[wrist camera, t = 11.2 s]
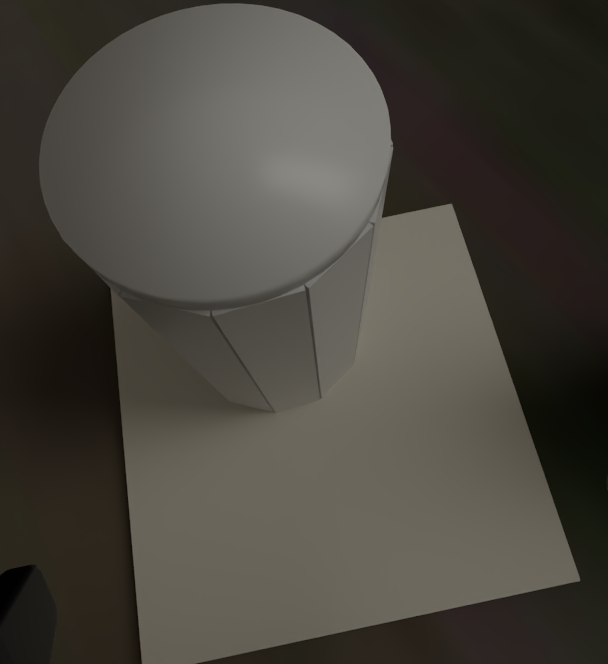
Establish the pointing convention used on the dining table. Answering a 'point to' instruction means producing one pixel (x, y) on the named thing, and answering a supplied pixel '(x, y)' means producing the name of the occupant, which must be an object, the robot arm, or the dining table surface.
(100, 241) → the cover cup
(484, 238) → the dining table surface
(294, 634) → the placemat
